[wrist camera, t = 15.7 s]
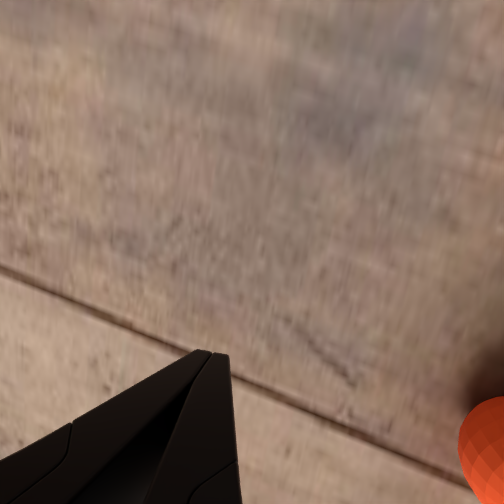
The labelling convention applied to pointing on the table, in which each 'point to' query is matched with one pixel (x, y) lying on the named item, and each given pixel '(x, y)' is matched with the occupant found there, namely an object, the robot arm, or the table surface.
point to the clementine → (484, 450)
